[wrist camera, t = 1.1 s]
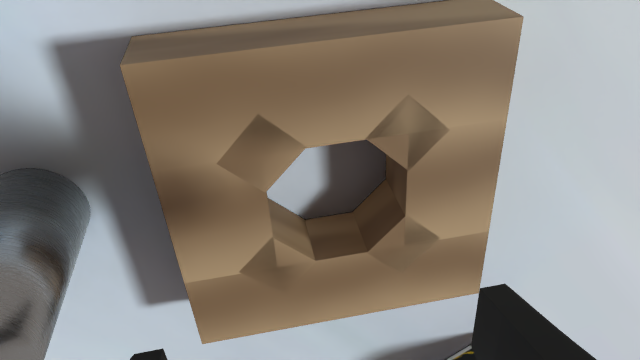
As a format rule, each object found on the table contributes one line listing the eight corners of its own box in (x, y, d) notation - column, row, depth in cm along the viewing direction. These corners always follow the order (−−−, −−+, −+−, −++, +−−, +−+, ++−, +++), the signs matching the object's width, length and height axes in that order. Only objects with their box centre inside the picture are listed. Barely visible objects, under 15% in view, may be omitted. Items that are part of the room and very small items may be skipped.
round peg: (102, 237, 20) (59, 393, 14) (7, 252, 20) (-76, 419, 14) (72, 161, 18) (8, 306, 12) (-34, 176, 18) (-151, 333, 12)
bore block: (455, 253, 24) (478, 292, 22) (203, 297, 23) (202, 344, 21) (485, -4, 18) (523, 16, 15) (131, 36, 16) (119, 65, 14)
